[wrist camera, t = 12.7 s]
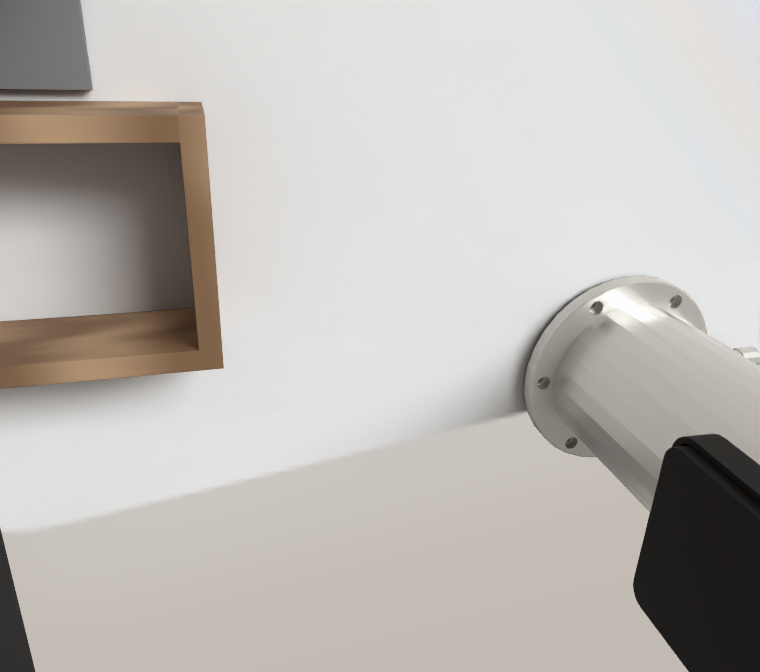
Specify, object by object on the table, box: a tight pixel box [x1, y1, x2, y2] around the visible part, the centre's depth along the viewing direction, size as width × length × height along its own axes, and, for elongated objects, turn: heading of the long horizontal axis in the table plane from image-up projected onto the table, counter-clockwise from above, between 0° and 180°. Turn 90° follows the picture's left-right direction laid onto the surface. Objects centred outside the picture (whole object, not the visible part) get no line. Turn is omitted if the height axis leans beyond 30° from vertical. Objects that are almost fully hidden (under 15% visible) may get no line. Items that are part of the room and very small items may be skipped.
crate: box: [0, 100, 224, 389], centre depth 28 cm, size 17×11×5 cm, turn 88°
